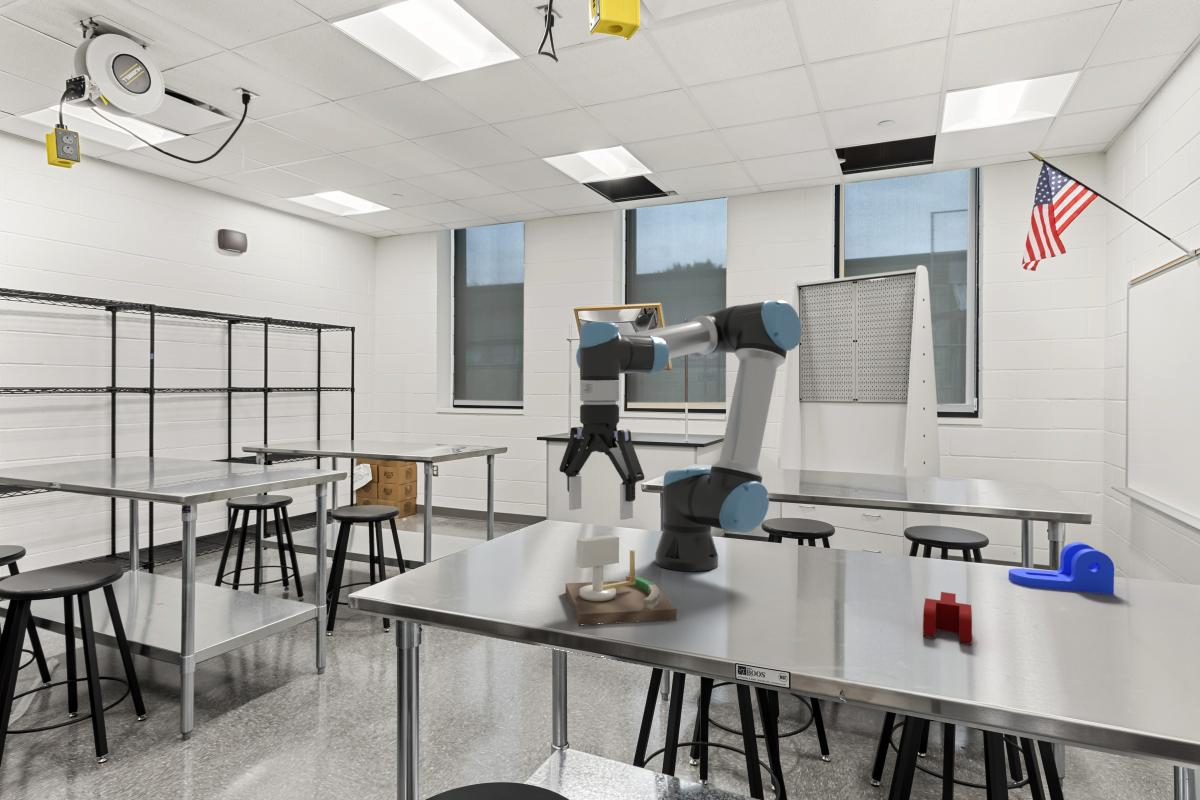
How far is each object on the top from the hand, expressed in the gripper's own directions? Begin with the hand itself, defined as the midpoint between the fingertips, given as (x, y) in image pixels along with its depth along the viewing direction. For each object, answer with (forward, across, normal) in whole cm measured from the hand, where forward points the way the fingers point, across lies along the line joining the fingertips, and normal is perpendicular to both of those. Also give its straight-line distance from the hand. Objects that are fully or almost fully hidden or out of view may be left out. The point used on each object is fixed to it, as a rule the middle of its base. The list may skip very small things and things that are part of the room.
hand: (599, 513), depth 122 cm
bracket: (+20, +61, +82) cm, 104 cm away
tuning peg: (+16, 0, +2) cm, 16 cm away
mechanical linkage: (+19, +51, +36) cm, 65 cm away
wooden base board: (+18, +2, +3) cm, 18 cm away
